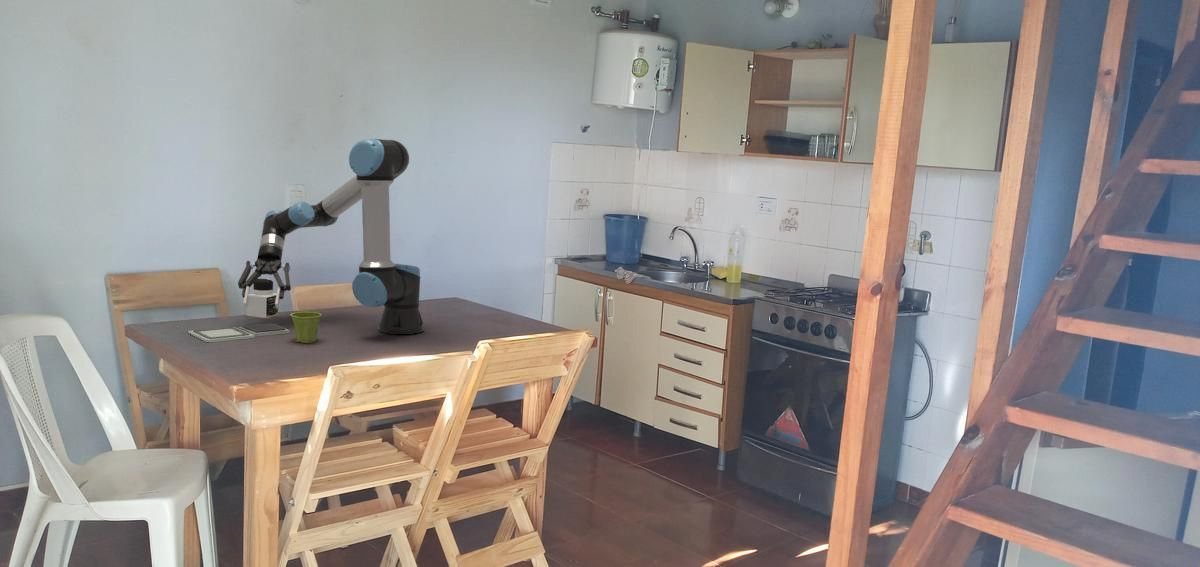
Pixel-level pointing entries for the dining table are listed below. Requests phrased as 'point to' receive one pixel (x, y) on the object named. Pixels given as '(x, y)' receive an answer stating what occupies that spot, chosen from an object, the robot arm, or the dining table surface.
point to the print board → (221, 334)
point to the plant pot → (306, 326)
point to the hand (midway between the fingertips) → (261, 305)
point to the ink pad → (264, 329)
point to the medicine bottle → (262, 299)
